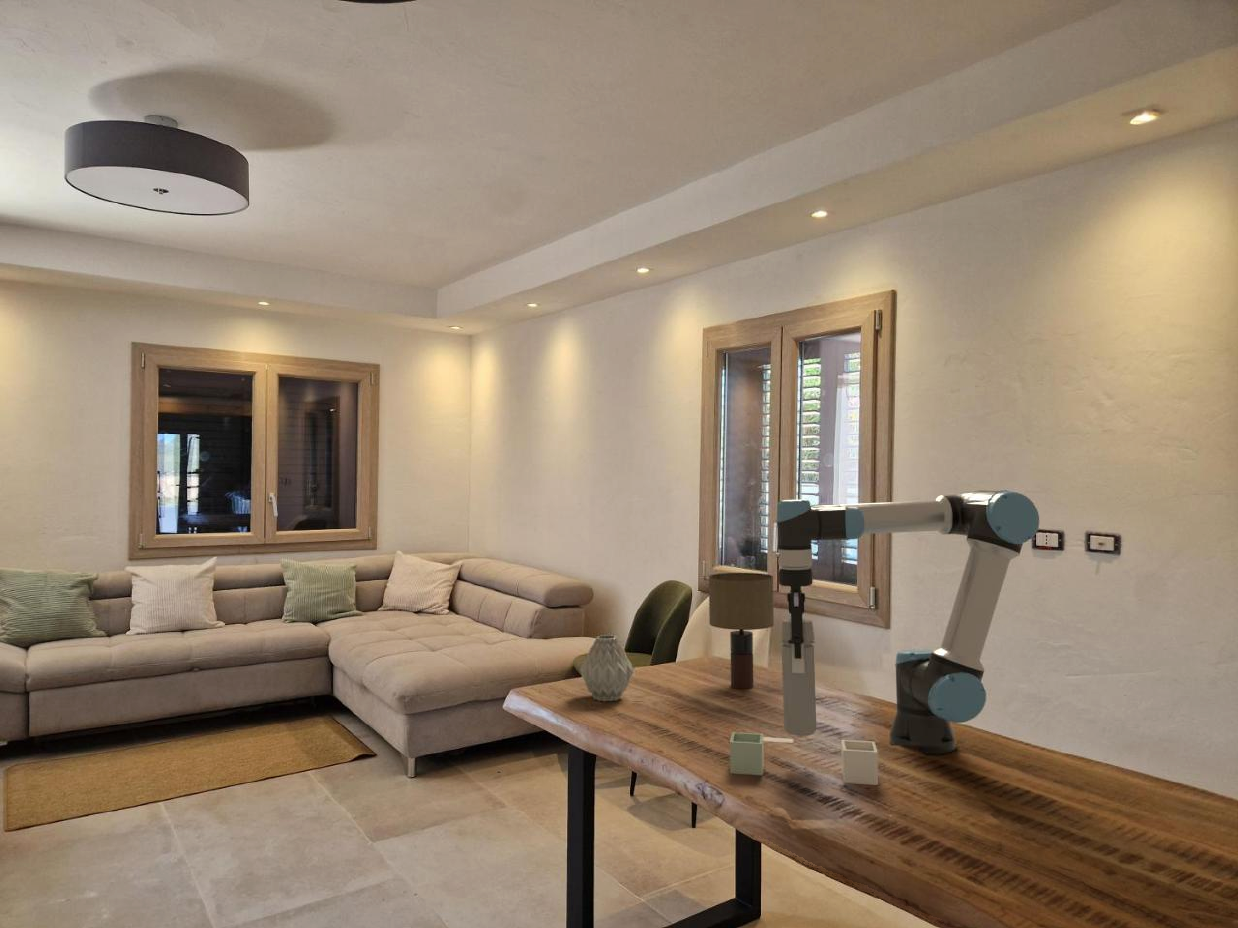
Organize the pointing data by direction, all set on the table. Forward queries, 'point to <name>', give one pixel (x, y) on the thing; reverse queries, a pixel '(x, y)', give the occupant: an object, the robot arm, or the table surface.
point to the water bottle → (799, 683)
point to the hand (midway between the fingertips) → (798, 667)
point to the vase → (607, 669)
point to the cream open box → (859, 762)
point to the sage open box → (747, 753)
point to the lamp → (741, 616)
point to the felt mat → (778, 739)
